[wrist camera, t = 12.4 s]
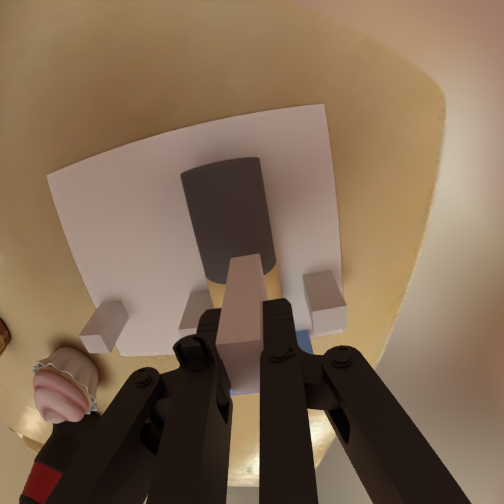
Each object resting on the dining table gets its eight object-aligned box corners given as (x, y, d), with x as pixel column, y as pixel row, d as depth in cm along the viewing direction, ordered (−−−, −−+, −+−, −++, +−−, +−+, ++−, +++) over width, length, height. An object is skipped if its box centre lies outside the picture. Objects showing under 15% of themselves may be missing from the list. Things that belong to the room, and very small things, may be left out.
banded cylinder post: (204, 163, 21) (163, 180, 17) (270, 153, 19) (241, 168, 15) (235, 301, 26) (209, 339, 22) (292, 304, 24) (274, 347, 20)
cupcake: (100, 344, 29) (65, 411, 20) (116, 393, 33) (93, 454, 24) (39, 328, 29) (0, 382, 20) (60, 377, 33) (32, 429, 23)
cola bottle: (63, 412, 37) (11, 547, 10) (61, 389, 34) (-4, 547, 7) (106, 434, 39) (65, 575, 11) (110, 414, 35) (61, 581, 8)
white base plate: (51, 173, 21) (1, 194, 15) (321, 104, 19) (350, 97, 13) (124, 351, 29) (103, 397, 23) (341, 327, 27) (358, 379, 21)
